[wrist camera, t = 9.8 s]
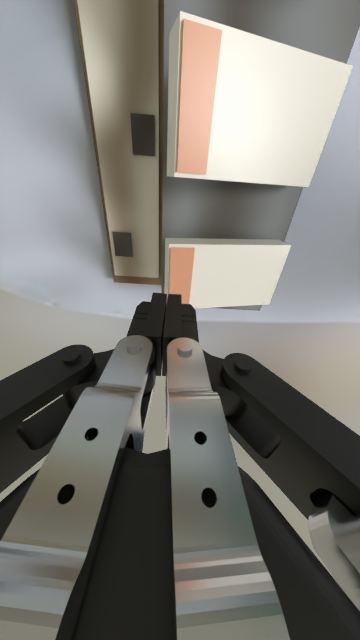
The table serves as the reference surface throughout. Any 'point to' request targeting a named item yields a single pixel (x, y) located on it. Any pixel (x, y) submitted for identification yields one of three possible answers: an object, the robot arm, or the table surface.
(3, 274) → the table surface
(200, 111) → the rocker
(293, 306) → the table surface
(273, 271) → the cream box
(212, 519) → the robot arm
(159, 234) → the switch box
